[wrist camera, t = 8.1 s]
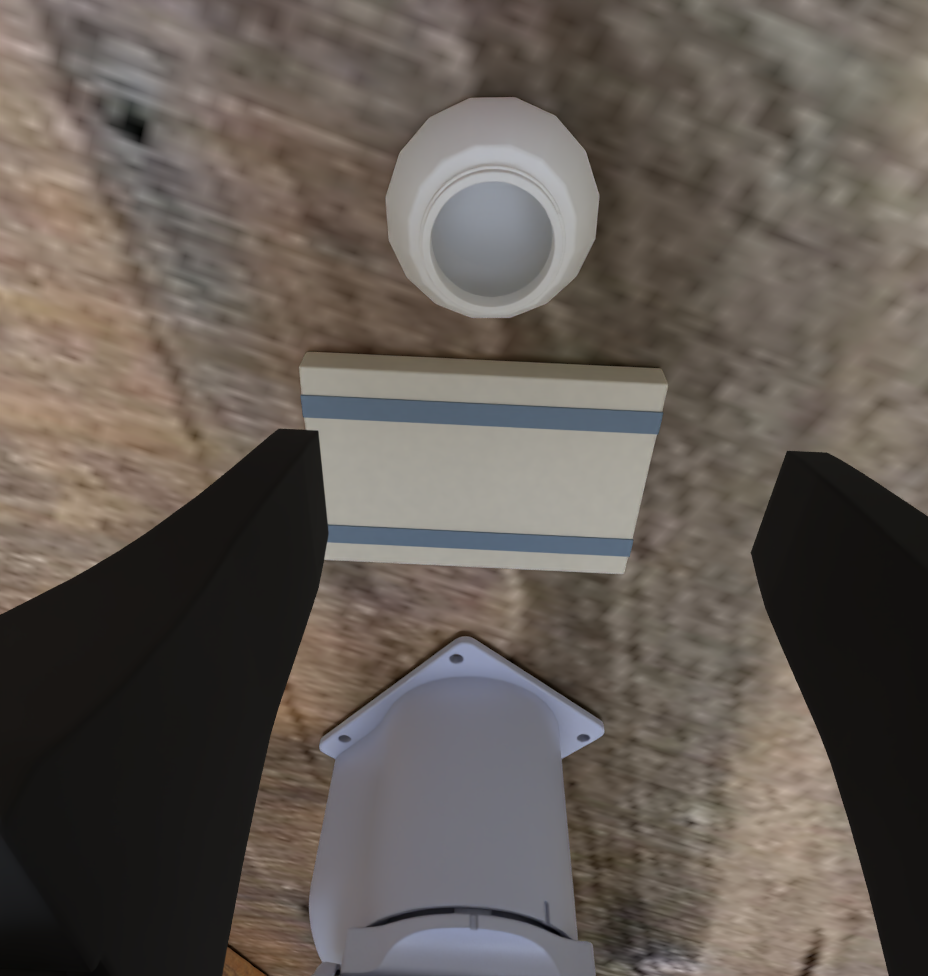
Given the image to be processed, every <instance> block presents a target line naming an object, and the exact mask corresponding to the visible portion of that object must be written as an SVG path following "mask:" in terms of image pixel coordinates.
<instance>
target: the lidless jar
mask: <svg viewBox="0 0 928 976" xmlns="http://www.w3.org/2000/svg"><path fill="white" fill-rule="evenodd" d="M385 200H386V213H387V226H388V239H389V242H390V244H391V246H392V248H393V250H394V252H395V254H396V256H397V259H398V261H399V263H400V265H401V267H402V269H403V271H404V273H405V275H406V277H407V278H408V279H409V280H410V281H411V282H412V283H413V284H414V285H416V286H417V287H418V288H419V289H420V290H421V291H422V292H423V293H424V294H425V295H426V296H427V297H429V298H430V299H431V300H432V301H433V302H434V303H435V304H437V305H439V306H442V307H444V308H447V309H450V310H452V311H455V312H457V313H460V314H462V315H465V316H468V317H470V318H511V317H514V316H516V315H519V314H522V313H524V312H527V311H529V310H532V309H534V308H537V307H539V306H542V305H545V304H547V303H548V302H549V301H550V300H551V299H552V298H553V297H555V296H556V295H557V294H558V293H559V292H560V291H561V290H562V289H563V288H564V287H566V286H567V285H568V284H569V283H570V282H571V281H572V280H573V279H574V278H575V277H576V276H577V275H578V273H579V271H580V269H581V267H582V265H583V263H584V261H585V259H586V257H587V255H588V253H589V251H590V249H591V247H592V245H593V243H594V241H595V238H596V227H597V216H598V206H599V193H598V189H597V186H596V183H595V179H594V176H593V173H592V170H591V166H590V163H589V160H588V156H587V153H586V151H585V149H584V148H583V147H582V146H581V145H580V144H579V142H578V141H577V140H576V139H575V138H574V137H573V135H572V134H571V133H570V132H569V131H568V129H567V128H566V127H565V126H564V125H563V124H562V122H561V121H560V120H559V119H558V118H557V117H556V116H555V115H553V114H551V113H549V112H547V111H544V110H542V109H540V108H538V107H536V106H533V105H531V104H529V103H527V102H525V101H523V100H520V99H518V98H516V97H479V98H468V99H466V100H464V101H462V102H460V103H458V104H456V105H454V106H452V107H450V108H448V109H445V110H443V111H441V112H439V113H437V114H435V115H433V116H431V117H429V118H428V119H427V121H426V122H425V123H424V124H423V125H422V127H421V128H420V129H419V130H418V131H417V132H416V134H415V135H414V136H413V137H412V138H411V140H410V141H409V142H408V143H407V144H406V145H405V147H404V148H403V149H402V150H401V151H400V153H399V156H398V159H397V162H396V165H395V168H394V171H393V175H392V178H391V181H390V184H389V187H388V190H387V194H386V197H385Z"/></svg>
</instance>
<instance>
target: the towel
mask: <svg viewBox="0 0 928 976" xmlns="http://www.w3.org/2000/svg"><path fill="white" fill-rule="evenodd" d="M299 374H300V383H301V393H302V395H301V404H302V413H303V417H304V420H305V429H306V430H318V432H319V442H320V452H321V462H322V472H323V481H324V491H325V501H326V511H327V521H328V531H329V535H328V541H327V546H326V552H325V557H324V560H338V561H359V562H380V563H401V564H422V565H442V566H463V567H484V568H505V569H526V570H546V571H567V572H588V573H609V574H624V573H625V569H626V564H627V560H628V557H630V552H631V548H632V544H633V534H634V530H635V526H636V522H637V517H638V513H639V509H640V504H641V500H642V496H643V492H644V487H645V483H646V479H647V474H648V470H649V466H650V462H651V457H652V453H653V449H654V444H655V440H656V436H657V434H658V433H659V429H660V425H661V420H662V416H663V412H662V410H663V406H664V402H665V397H666V393H667V389H668V383H667V381H666V378H665V376H664V374H663V371H662V369H660V368H640V367H620V366H599V365H578V364H557V363H536V362H515V361H494V360H473V359H452V358H432V357H411V356H390V355H369V354H348V353H327V352H306V353H305V355H304V357H303V360H302V362H301V364H300V366H299Z"/></svg>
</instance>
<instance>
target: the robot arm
mask: <svg viewBox="0 0 928 976" xmlns="http://www.w3.org/2000/svg"><path fill="white" fill-rule="evenodd" d="M328 535H329V531H328V521H327V511H326V501H325V491H324V481H323V472H322V462H321V452H320V442H319V432H318V430H296V429H278V430H277V431H275V432H274V433H273V434H272V435H270V436H269V437H268V438H267V439H266V440H264V441H263V442H262V443H261V444H260V445H258V446H257V447H256V448H255V449H254V450H252V451H251V452H250V453H249V454H248V455H247V456H245V457H244V458H243V459H242V460H241V461H240V462H238V463H237V464H236V465H235V466H234V467H232V468H231V469H230V470H229V471H227V472H226V473H225V474H224V475H223V476H221V477H220V478H219V479H218V480H216V481H215V482H214V483H213V484H212V485H210V486H209V487H208V488H207V489H205V490H204V491H203V492H202V493H200V494H199V495H198V496H197V497H195V498H194V499H192V500H191V501H190V502H188V503H187V504H186V505H184V506H183V507H182V508H180V509H179V510H177V511H176V512H175V513H173V514H172V515H171V516H169V517H168V518H166V519H165V520H164V521H162V522H161V523H160V524H158V525H157V526H156V527H154V528H153V529H151V530H150V531H149V532H147V533H146V534H144V535H143V536H141V537H140V538H138V539H137V540H135V541H134V542H132V543H131V544H129V545H127V546H126V547H124V548H123V549H121V550H120V551H118V552H116V553H115V554H113V555H111V556H110V557H108V558H106V559H105V560H103V561H101V562H100V563H98V564H96V565H95V566H93V567H91V568H90V569H88V570H86V571H84V572H83V573H81V574H79V575H77V576H76V577H74V578H72V579H70V580H68V581H66V582H64V583H62V584H60V585H58V586H56V587H54V588H52V589H50V590H48V591H46V592H45V593H43V594H41V595H39V596H37V597H35V598H33V599H31V600H29V601H27V602H25V603H23V604H21V605H19V606H17V607H15V608H13V609H11V610H9V611H7V612H5V613H3V614H1V615H0V976H222V975H223V969H224V963H225V957H226V951H227V946H228V940H229V935H230V929H231V924H232V919H233V913H234V908H235V903H236V898H237V892H238V887H239V882H240V876H241V871H242V866H243V861H244V856H245V851H246V846H247V841H248V836H249V832H250V827H251V822H252V817H253V812H254V807H255V802H256V798H257V793H258V789H259V784H260V780H261V775H262V771H263V766H264V762H265V757H266V753H267V748H268V744H269V739H270V735H271V732H272V728H273V725H274V721H275V718H276V714H277V711H278V708H279V705H280V702H281V699H282V696H283V693H284V690H285V687H286V684H287V681H288V678H289V675H290V672H291V669H292V666H293V663H294V660H295V657H296V654H297V651H298V648H299V645H300V642H301V639H302V637H303V634H304V631H305V628H306V625H307V622H308V619H309V615H310V612H311V609H312V606H313V603H314V600H315V597H316V594H317V591H318V588H319V583H320V578H321V573H322V568H323V563H324V557H325V552H326V546H327V541H328ZM751 555H752V559H753V563H754V567H755V572H756V576H757V580H758V584H759V587H760V591H761V594H762V598H763V601H764V605H765V608H766V611H767V613H768V616H769V618H770V621H771V623H772V625H773V628H774V630H775V632H776V635H777V637H778V640H779V642H780V644H781V647H782V649H783V651H784V654H785V656H786V658H787V660H788V663H789V665H790V667H791V670H792V672H793V674H794V676H795V679H796V681H797V683H798V686H799V688H800V690H801V692H802V695H803V697H804V699H805V702H806V704H807V706H808V708H809V711H810V713H811V715H812V718H813V720H814V722H815V724H816V727H817V729H818V731H819V734H820V736H821V739H822V742H823V744H824V747H825V749H826V752H827V755H828V757H829V760H830V763H831V766H832V769H833V772H834V775H835V779H836V782H837V785H838V788H839V791H840V795H841V798H842V801H843V804H844V808H845V811H846V814H847V817H848V820H849V824H850V827H851V831H852V834H853V838H854V842H855V845H856V849H857V852H858V856H859V860H860V863H861V867H862V870H863V874H864V878H865V881H866V885H867V888H868V892H869V896H870V900H871V904H872V908H873V912H874V917H875V921H876V925H877V929H878V933H879V937H880V941H881V945H882V949H883V954H884V958H885V962H886V966H887V970H888V974H889V976H928V516H926V515H925V514H923V513H922V512H920V511H919V510H917V509H916V508H914V507H913V506H911V505H910V504H908V503H907V502H905V501H904V500H902V499H901V498H899V497H898V496H896V495H895V494H893V493H892V492H890V491H889V490H887V489H886V488H884V487H883V486H881V485H880V484H878V483H877V482H875V481H874V480H872V479H871V478H869V477H868V476H866V475H864V474H863V473H861V472H860V471H858V470H857V469H855V468H853V467H852V466H850V465H848V464H847V463H845V462H843V461H842V460H840V459H838V458H836V457H834V456H832V455H831V454H829V453H822V452H799V451H787V453H786V455H785V458H784V461H783V464H782V467H781V469H780V472H779V475H778V478H777V481H776V483H775V486H774V489H773V492H772V495H771V497H770V500H769V503H768V506H767V509H766V511H765V514H764V517H763V520H762V523H761V525H760V528H759V531H758V534H757V537H756V540H755V542H754V545H753V548H752V551H751ZM454 654H458V655H454ZM604 732H605V731H604V725H603V722H602V721H601V720H600V719H598V718H597V717H595V716H593V715H592V714H590V713H589V712H587V711H586V710H584V709H583V708H581V707H580V706H578V705H576V704H575V703H573V702H572V701H570V700H569V699H567V698H566V697H564V696H562V695H561V694H559V693H558V692H556V691H555V690H553V689H552V688H550V687H549V686H547V685H545V684H544V683H542V682H541V681H539V680H538V679H536V678H535V677H533V676H531V675H530V674H528V673H527V672H525V671H524V670H522V669H521V668H519V667H518V666H516V665H514V664H513V663H511V662H510V661H508V660H507V659H505V658H504V657H502V656H500V655H499V654H497V653H496V652H494V651H493V650H491V649H490V648H488V647H486V646H485V645H483V644H482V643H480V642H479V641H477V640H476V639H474V638H472V637H468V636H462V637H459V638H457V639H455V640H454V641H452V642H451V643H449V644H448V645H447V646H445V647H444V648H443V649H441V650H440V651H439V652H437V653H436V654H435V655H433V656H432V657H430V658H429V659H428V660H426V661H425V662H424V663H422V664H421V665H420V666H418V667H417V668H415V669H414V670H413V671H411V672H410V673H409V674H407V675H406V676H405V677H403V678H402V679H401V680H399V681H398V682H396V683H395V684H394V685H392V686H391V687H390V688H388V689H387V690H386V691H384V692H383V693H381V694H380V695H379V696H377V697H376V698H375V699H373V700H372V701H371V702H369V703H368V704H367V705H365V706H364V707H362V708H361V709H360V710H358V711H357V712H356V713H354V714H353V715H352V716H350V717H349V718H347V719H346V720H345V721H343V722H342V723H341V724H339V725H338V726H337V727H335V728H334V729H333V730H331V731H330V732H328V733H327V734H326V735H324V736H323V737H322V738H321V740H320V744H319V749H320V750H321V751H322V752H323V753H324V754H326V755H328V756H330V757H332V758H334V759H335V764H334V769H333V774H332V779H331V784H330V789H329V795H328V800H327V805H326V810H325V815H324V820H323V825H322V831H321V836H320V841H319V846H318V851H317V856H316V861H315V866H314V872H313V877H312V882H311V887H310V896H309V917H310V925H311V930H312V935H313V939H314V943H315V946H316V949H317V952H318V955H319V957H320V959H321V961H322V963H321V964H320V965H319V966H318V967H317V969H316V971H315V973H314V974H312V975H311V976H596V972H595V962H594V953H593V944H592V943H590V942H586V941H578V935H577V924H576V913H575V902H574V891H573V880H572V869H571V858H570V847H569V836H568V825H567V814H566V803H565V792H564V781H563V770H562V759H563V758H564V757H566V756H568V755H570V754H571V753H573V752H575V751H577V750H578V749H580V748H582V747H584V746H586V745H587V744H589V743H591V742H593V741H594V740H596V739H598V738H600V737H601V736H602V735H603V734H604Z"/></svg>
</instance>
